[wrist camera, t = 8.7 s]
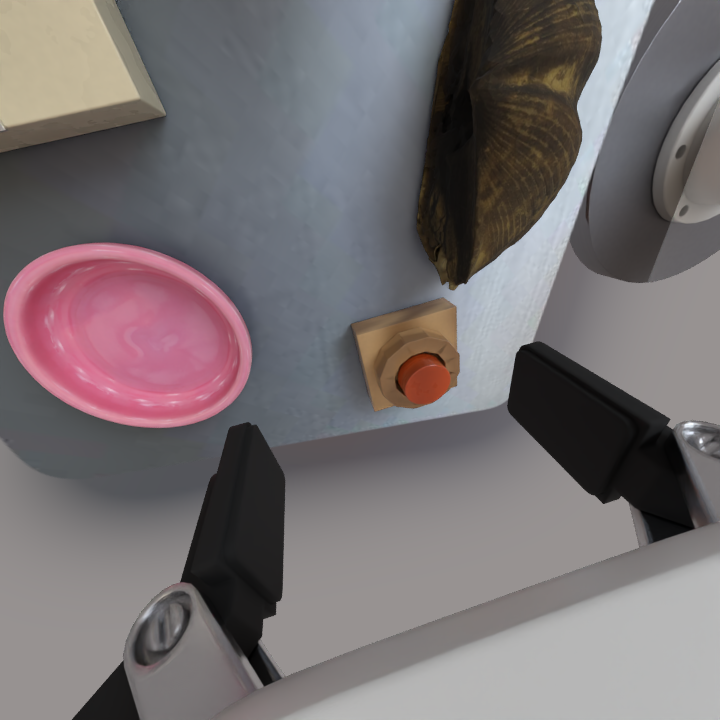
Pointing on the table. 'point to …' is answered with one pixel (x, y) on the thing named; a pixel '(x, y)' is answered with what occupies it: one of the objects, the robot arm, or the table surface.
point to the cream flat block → (68, 72)
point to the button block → (405, 348)
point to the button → (423, 379)
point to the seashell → (502, 125)
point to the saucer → (128, 335)
